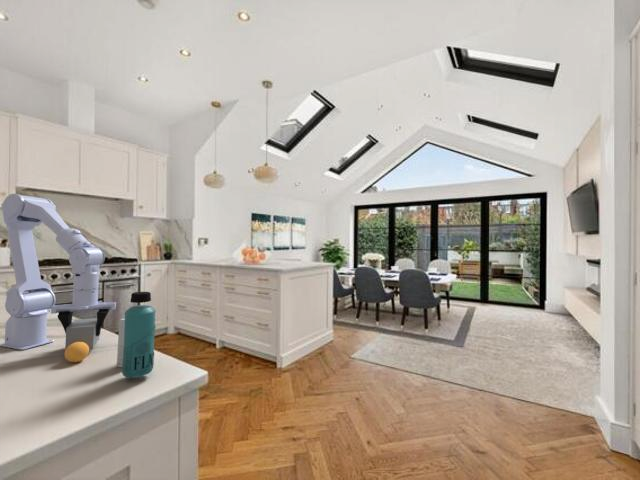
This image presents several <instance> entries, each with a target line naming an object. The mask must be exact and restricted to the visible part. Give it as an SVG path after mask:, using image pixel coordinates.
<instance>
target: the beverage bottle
mask: <svg viewBox="0 0 640 480" xmlns="http://www.w3.org/2000/svg"><path fill="white" fill-rule="evenodd" d="M130 296H131V297H130V303H133V304H139V303H140V304H141V303H149V302H151V301H152V297H151V296H152V295H151V291H136V292H132V293H131V295H130ZM124 318H125V328H124V348H123V353H122V354H123V367H121V372H122V376H123V377H125V378H139V377H144V376H146V375H148V374H150V373H151V372H152V371H153V369H154V366H155V360H154V359H155V348H156V347H155V335H156V309H155V308H154V307H152V306H151V305H147V304H145V305H144V304H142V305H133V306H131V307H129V308H128V309H127V310H126V311H125V312H124Z"/></svg>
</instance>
